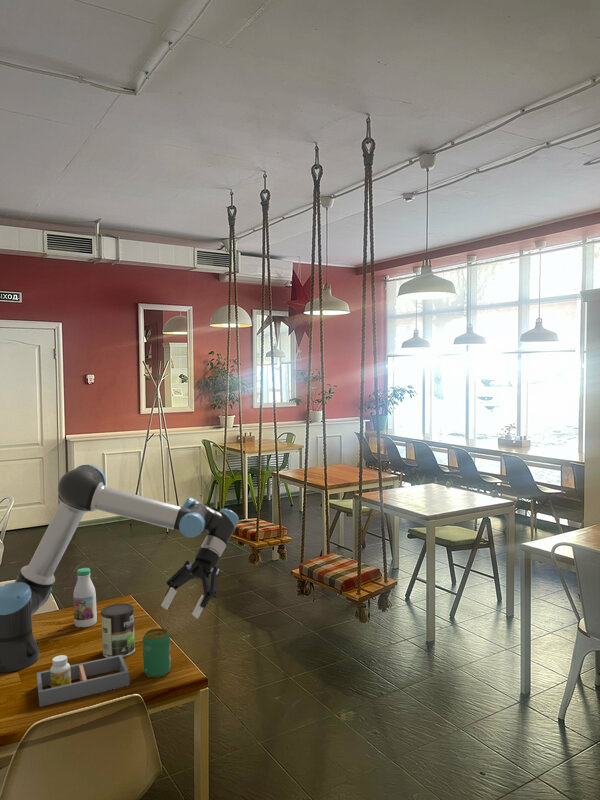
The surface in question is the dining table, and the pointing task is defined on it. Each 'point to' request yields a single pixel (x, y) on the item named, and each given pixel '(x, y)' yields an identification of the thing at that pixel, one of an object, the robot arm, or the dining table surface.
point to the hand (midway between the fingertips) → (179, 612)
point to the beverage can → (156, 652)
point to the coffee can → (118, 630)
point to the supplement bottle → (60, 671)
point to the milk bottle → (84, 600)
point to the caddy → (84, 680)
